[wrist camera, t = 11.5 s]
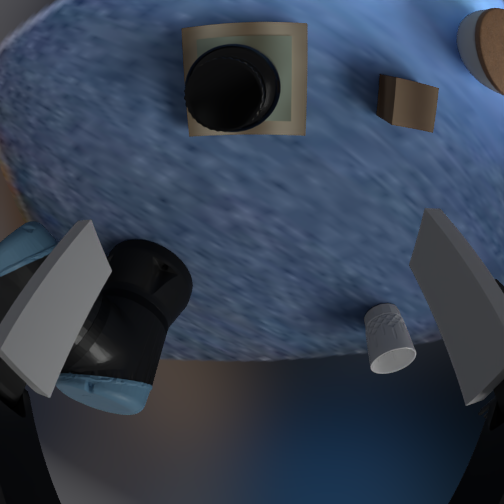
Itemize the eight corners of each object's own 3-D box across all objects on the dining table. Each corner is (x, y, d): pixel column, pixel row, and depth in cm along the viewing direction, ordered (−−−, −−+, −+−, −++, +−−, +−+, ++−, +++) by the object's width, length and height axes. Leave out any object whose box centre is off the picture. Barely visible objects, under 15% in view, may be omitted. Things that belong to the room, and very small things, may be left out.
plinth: (196, 129, 31) (188, 137, 28) (189, 31, 23) (180, 28, 21) (302, 129, 30) (305, 136, 27) (304, 27, 23) (307, 23, 20)
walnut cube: (376, 114, 28) (391, 124, 24) (379, 74, 25) (396, 77, 21) (413, 121, 28) (432, 132, 24) (417, 82, 25) (438, 88, 21)
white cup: (358, 307, 47) (369, 356, 39) (401, 295, 44) (418, 342, 37) (362, 332, 51) (371, 377, 43) (401, 322, 49) (414, 366, 41)
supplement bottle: (208, 47, 22) (166, 43, 13) (280, 48, 22) (287, 40, 13) (208, 111, 26) (170, 147, 17) (276, 113, 26) (280, 150, 17)
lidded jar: (509, 46, 17) (555, 57, 10) (487, 103, 24) (533, 123, 16) (455, -6, 16) (501, -12, 8) (431, 54, 22) (477, 59, 14)
